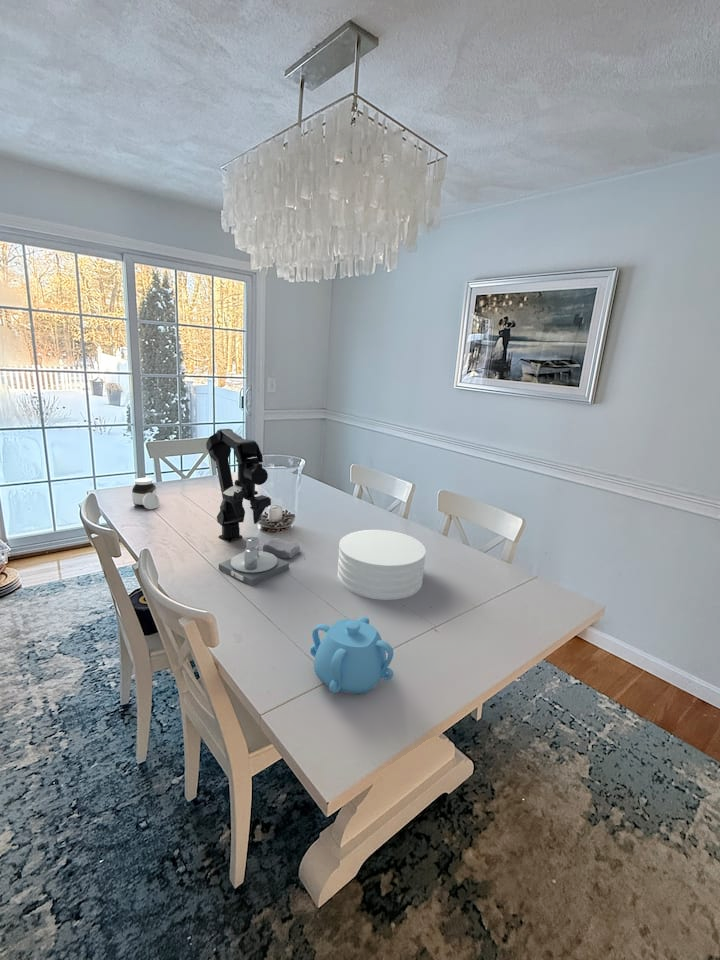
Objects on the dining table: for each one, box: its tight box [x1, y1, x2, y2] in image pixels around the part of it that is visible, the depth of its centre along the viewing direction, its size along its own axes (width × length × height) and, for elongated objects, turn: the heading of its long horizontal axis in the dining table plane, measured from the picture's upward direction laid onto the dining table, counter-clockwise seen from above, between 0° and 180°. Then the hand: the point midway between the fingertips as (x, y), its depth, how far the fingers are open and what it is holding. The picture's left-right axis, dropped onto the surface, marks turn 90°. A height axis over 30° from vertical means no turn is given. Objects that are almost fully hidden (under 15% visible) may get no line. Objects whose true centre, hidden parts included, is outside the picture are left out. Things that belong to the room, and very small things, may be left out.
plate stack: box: [337, 529, 427, 601], centre depth 147 cm, size 28×28×12 cm
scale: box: [218, 549, 290, 586], centre depth 148 cm, size 16×17×3 cm
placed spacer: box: [243, 548, 257, 570], centre depth 142 cm, size 4×4×6 cm
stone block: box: [262, 537, 301, 560], centre depth 162 cm, size 12×5×10 cm
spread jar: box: [131, 477, 160, 510], centre depth 197 cm, size 12×11×12 cm
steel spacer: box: [245, 536, 260, 557], centre depth 150 cm, size 4×4×6 cm
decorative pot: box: [309, 616, 394, 696], centre depth 100 cm, size 16×16×14 cm
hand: (246, 520), depth 157 cm, fingers open, 9 cm apart
